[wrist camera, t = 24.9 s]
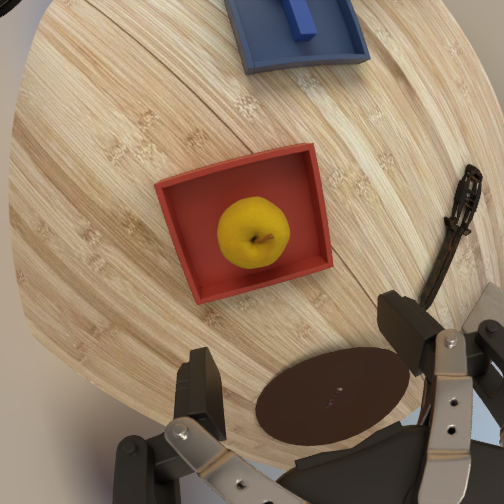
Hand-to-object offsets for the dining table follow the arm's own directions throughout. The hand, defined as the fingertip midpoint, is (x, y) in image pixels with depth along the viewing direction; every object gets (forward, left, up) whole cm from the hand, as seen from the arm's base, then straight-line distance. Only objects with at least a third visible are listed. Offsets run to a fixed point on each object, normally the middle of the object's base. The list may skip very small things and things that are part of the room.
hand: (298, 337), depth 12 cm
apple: (0, 0, -19) cm, 19 cm away
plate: (+7, -35, -19) cm, 41 cm away
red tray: (0, 0, -19) cm, 19 cm away
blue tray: (+10, +23, -19) cm, 32 cm away
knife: (+29, -11, -19) cm, 36 cm away
